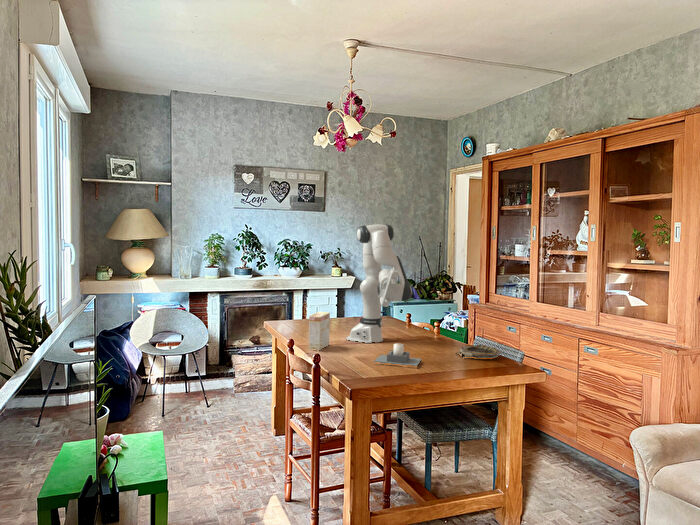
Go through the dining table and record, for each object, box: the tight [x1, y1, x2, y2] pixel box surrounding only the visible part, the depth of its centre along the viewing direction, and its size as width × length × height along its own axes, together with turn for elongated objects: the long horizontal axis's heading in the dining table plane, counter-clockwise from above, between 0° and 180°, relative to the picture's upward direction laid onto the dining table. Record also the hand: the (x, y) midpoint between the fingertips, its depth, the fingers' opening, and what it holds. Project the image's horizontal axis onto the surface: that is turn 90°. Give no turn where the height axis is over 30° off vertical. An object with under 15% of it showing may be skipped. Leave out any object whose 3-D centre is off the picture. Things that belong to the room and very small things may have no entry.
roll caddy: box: [373, 349, 422, 366], centre depth 266 cm, size 22×14×5 cm, turn 73°
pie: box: [459, 344, 501, 358], centre depth 284 cm, size 28×27×5 cm
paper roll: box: [393, 343, 405, 356], centre depth 266 cm, size 5×5×8 cm
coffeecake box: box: [308, 311, 331, 351], centre depth 294 cm, size 15×7×20 cm, turn 160°
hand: (391, 293), depth 263 cm, fingers open, 8 cm apart
